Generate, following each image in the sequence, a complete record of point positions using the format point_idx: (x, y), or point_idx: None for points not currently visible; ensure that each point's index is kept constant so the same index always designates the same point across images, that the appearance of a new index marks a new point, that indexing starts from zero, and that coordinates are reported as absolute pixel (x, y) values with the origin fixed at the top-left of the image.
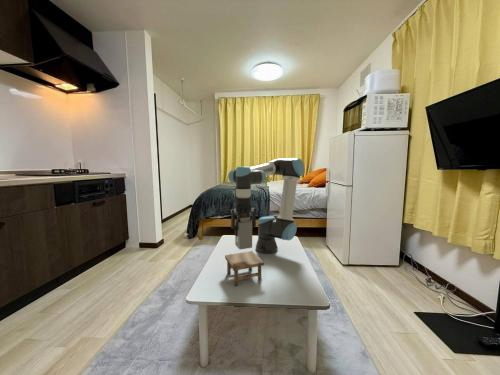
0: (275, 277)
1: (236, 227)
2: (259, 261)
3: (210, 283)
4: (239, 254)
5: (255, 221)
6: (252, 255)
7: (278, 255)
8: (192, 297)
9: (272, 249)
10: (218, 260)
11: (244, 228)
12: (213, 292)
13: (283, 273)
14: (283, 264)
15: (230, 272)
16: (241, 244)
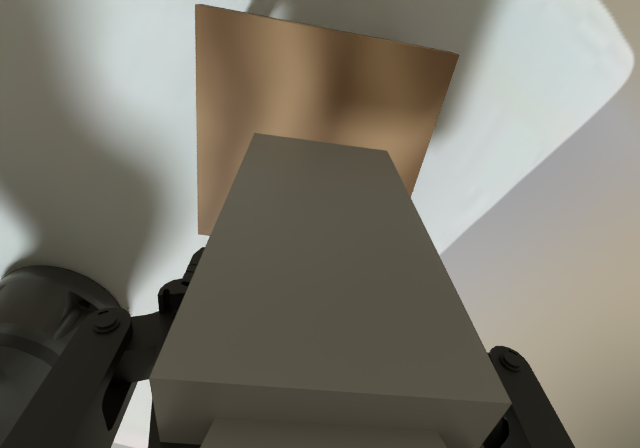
0: (136, 3)
1: None
2: (224, 46)
3: (485, 147)
4: None
5: (34, 405)
6: (227, 171)
7: (15, 229)
8: (625, 74)
9: (29, 279)
10: None
11: (365, 285)
12: (526, 59)
13: (62, 19)
14: (20, 123)
15: None
16: (377, 168)
